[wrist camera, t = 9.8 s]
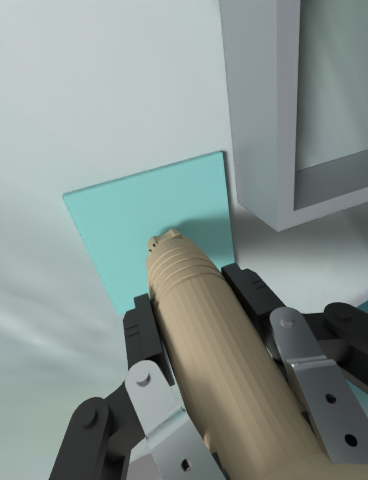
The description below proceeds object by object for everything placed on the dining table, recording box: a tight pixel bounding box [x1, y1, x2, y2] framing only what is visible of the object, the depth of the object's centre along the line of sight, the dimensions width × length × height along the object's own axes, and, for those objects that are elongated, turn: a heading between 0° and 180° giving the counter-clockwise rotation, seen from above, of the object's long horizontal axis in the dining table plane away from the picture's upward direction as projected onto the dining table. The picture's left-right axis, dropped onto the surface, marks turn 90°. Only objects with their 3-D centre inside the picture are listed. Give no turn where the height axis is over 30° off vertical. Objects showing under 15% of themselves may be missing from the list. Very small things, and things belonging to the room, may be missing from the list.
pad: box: [62, 151, 235, 316], centre depth 18 cm, size 10×10×1 cm
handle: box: [146, 229, 368, 480], centre depth 11 cm, size 5×6×15 cm
